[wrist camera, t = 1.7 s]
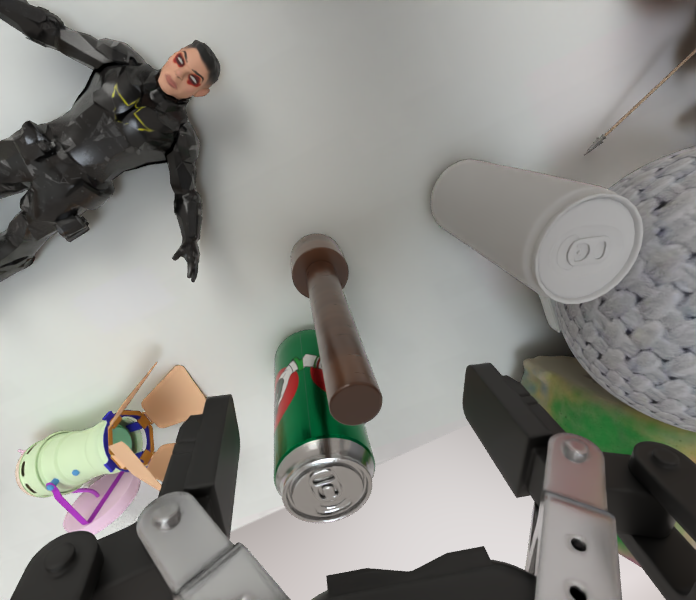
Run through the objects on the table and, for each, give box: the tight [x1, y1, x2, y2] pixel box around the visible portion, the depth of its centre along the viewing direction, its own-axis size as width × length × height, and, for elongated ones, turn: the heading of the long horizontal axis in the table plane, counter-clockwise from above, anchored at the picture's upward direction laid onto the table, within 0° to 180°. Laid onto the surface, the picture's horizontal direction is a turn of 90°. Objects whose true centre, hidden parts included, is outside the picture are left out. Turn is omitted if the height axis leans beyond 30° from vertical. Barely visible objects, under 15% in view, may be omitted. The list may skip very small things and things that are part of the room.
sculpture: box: [520, 356, 696, 567], centre depth 28 cm, size 15×8×10 cm
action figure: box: [0, 0, 220, 282], centre depth 20 cm, size 16×4×20 cm
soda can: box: [274, 330, 375, 523], centre depth 24 cm, size 5×5×12 cm
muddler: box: [291, 234, 382, 426], centre depth 20 cm, size 3×3×15 cm
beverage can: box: [431, 159, 643, 304], centre depth 21 cm, size 5×5×12 cm
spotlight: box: [15, 362, 206, 535], centre depth 27 cm, size 12×8×8 cm
